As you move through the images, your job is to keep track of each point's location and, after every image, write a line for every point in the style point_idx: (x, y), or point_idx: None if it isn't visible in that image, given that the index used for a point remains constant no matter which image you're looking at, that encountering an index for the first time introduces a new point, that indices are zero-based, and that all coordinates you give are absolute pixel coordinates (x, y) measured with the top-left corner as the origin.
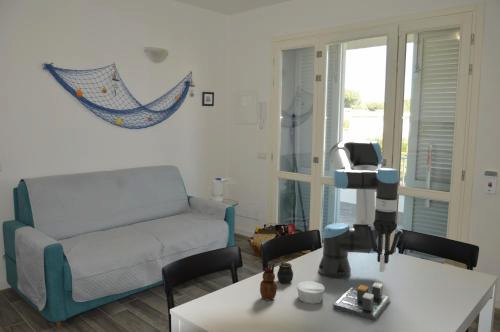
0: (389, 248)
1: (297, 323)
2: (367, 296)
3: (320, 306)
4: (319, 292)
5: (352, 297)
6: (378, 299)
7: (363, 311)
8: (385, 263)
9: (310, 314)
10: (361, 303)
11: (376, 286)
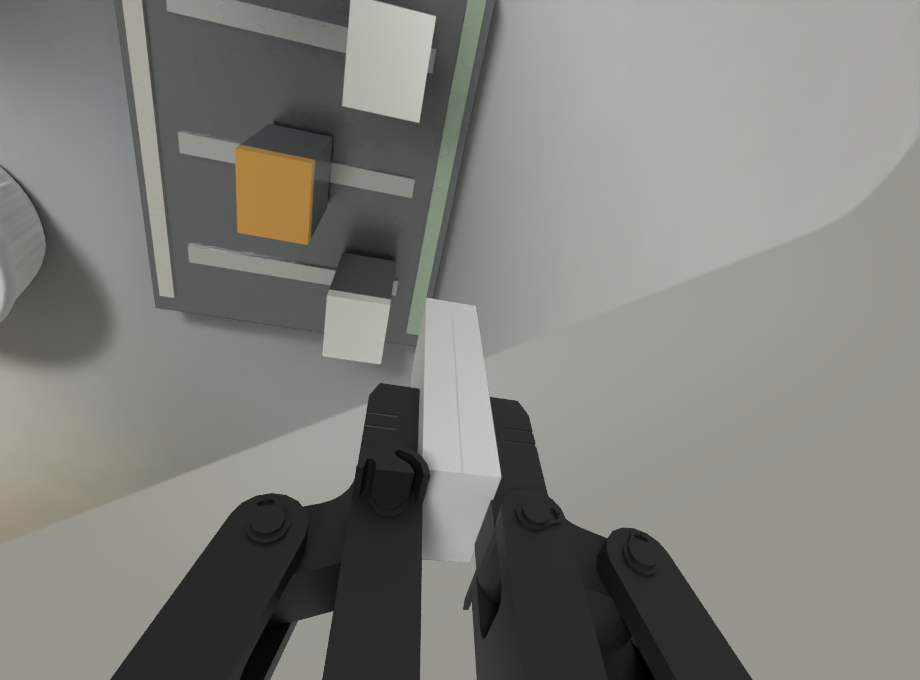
0: (585, 620)
1: (109, 472)
2: (354, 350)
3: (87, 288)
4: (4, 309)
5: (220, 155)
6: None
7: None
8: (480, 370)
9: (103, 389)
10: None
11: (383, 113)
